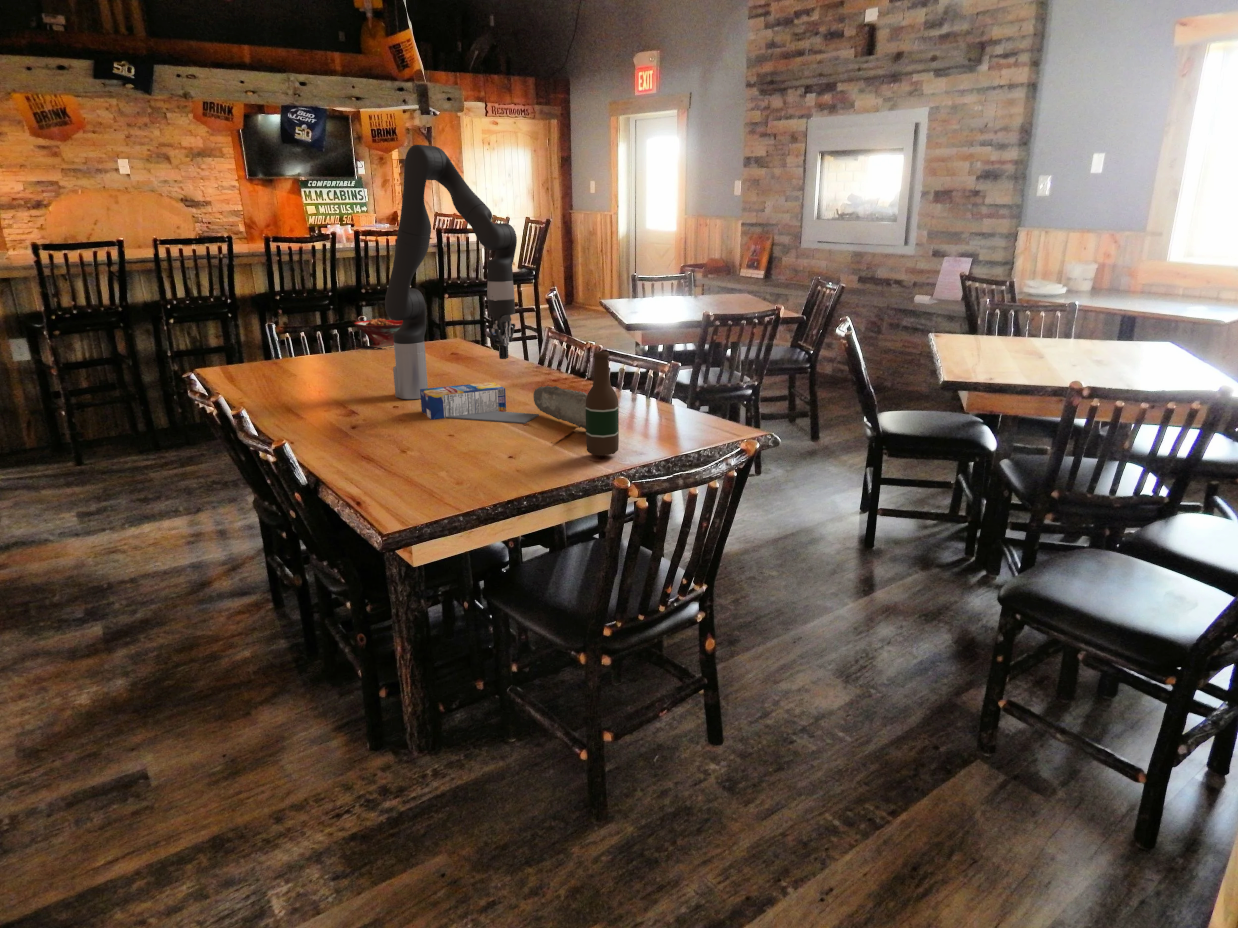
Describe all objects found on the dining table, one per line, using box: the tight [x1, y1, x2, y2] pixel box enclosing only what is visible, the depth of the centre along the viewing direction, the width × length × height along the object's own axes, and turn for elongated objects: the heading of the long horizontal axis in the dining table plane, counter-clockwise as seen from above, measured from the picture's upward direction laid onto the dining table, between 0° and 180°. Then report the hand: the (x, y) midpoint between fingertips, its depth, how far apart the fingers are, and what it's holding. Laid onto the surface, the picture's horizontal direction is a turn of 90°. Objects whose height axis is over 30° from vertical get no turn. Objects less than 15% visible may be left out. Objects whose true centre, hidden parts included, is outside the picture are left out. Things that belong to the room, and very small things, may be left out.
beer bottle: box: [585, 350, 620, 456], centre depth 194 cm, size 8×8×24 cm
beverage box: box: [420, 381, 507, 421], centre depth 238 cm, size 7×11×22 cm
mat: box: [445, 411, 540, 425], centre depth 232 cm, size 24×10×1 cm, turn 73°
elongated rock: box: [533, 385, 588, 430], centre depth 222 cm, size 35×5×10 cm, turn 39°
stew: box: [353, 317, 403, 350], centre depth 346 cm, size 28×24×16 cm
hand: (503, 358), depth 236 cm, fingers closed
